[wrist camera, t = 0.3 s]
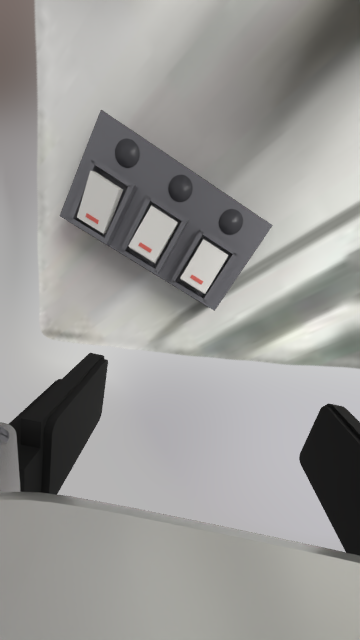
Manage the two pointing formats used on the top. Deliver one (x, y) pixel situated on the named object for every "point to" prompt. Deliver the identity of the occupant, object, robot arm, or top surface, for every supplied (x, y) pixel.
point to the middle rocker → (153, 234)
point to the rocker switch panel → (165, 208)
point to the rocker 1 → (99, 202)
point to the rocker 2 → (204, 266)
